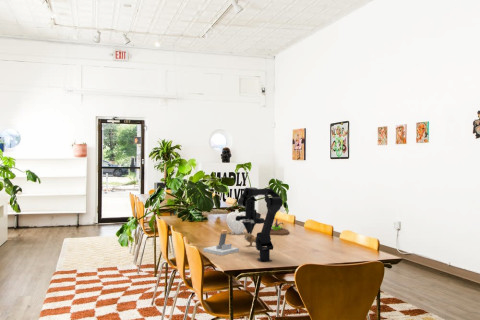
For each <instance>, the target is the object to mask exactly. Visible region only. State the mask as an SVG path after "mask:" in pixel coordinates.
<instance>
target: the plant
mask: <svg viewBox="0 0 480 320" xmlns="http://www.w3.org/2000/svg"><path fill="white" fill-rule="evenodd" d="M278 221H279V220H278V219H277V218H276V219H275V222H274V223H273V225H272V228H271V231H270V236H280V237H281V236H289V235H290V231H289V229H286V228H285V227H283V226H284V224H285V223H283V222H279V223H278ZM281 225H282V226H281Z"/></svg>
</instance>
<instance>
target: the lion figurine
mask: <svg viewBox="0 0 480 320" xmlns="http://www.w3.org/2000/svg"><path fill="white" fill-rule="evenodd" d="M243 238H244V240H246V241H247V242H248V243H249V247H250V248H251V247H253V243H255V241H256V239H255V238H256V236H254V235H253V234H250V233H249V234H248V233H247V232H246V233H245V234H244V237H243Z"/></svg>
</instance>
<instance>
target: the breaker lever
mask: <svg viewBox="0 0 480 320" xmlns="http://www.w3.org/2000/svg"><path fill="white" fill-rule="evenodd" d="M227 232H228V230H227V229H221V231H220V236H219V240H218V241H219V242H218V245H219V248H222V245H225V244H226V238H227V234H228V233H227Z"/></svg>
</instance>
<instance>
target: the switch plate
mask: <svg viewBox="0 0 480 320" xmlns="http://www.w3.org/2000/svg"><path fill="white" fill-rule="evenodd" d="M232 244H233V243H225V245H222V248H219V244H218V245H212V246H209V247H204V248H202V251H203V252H204V253H209V254H213V255H219V256H225V255H226V256H227V255H230V253H231V254H233V253H234V252H235V253H238V252H240V248H239V247H234V246H233V245H232ZM235 253H234V254H235Z"/></svg>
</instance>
